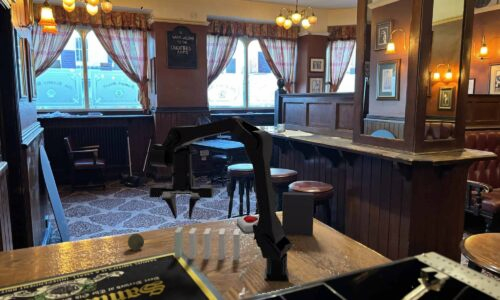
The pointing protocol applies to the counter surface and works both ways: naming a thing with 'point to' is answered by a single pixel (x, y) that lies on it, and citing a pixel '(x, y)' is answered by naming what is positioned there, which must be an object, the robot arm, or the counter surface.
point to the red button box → (247, 223)
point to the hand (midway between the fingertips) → (183, 218)
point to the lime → (135, 241)
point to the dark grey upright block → (297, 213)
